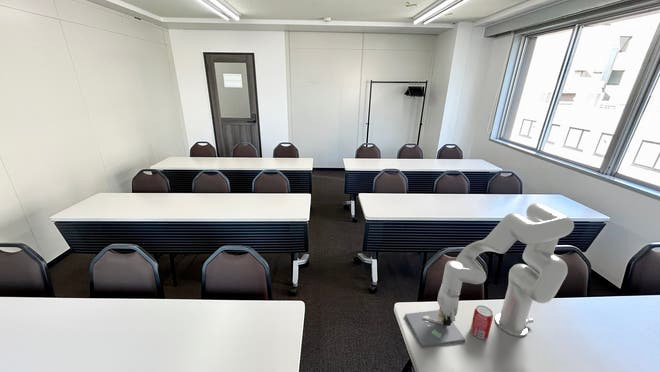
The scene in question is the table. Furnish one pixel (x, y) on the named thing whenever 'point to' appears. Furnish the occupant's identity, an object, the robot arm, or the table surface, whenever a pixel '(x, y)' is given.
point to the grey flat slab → (433, 330)
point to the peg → (440, 317)
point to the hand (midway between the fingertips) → (444, 320)
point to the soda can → (481, 322)
